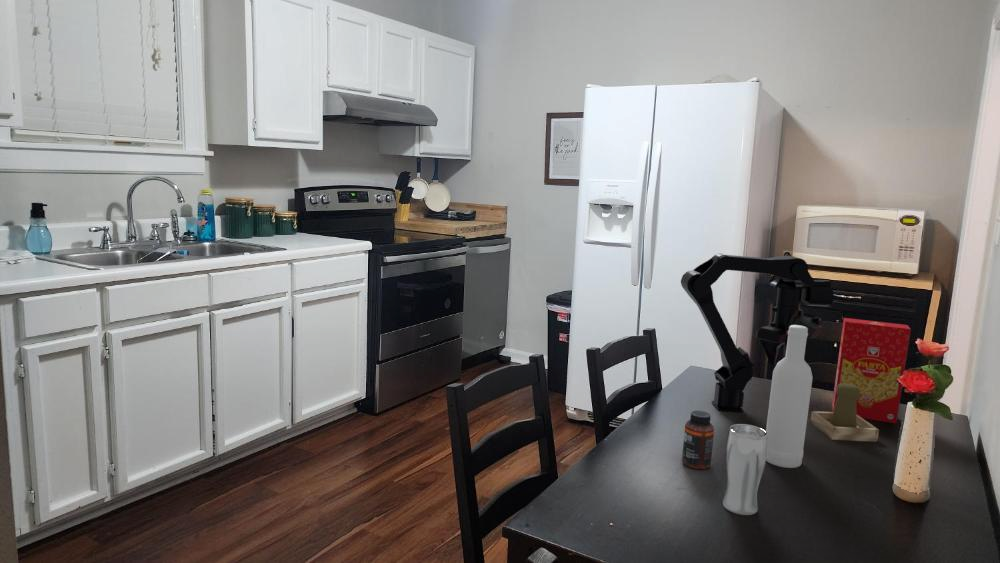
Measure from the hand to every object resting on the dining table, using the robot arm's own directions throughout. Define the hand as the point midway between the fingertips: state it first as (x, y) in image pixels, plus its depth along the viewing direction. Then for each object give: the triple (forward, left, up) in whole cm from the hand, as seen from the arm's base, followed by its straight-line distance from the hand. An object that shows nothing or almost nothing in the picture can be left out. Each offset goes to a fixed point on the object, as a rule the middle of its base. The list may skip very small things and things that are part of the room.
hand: (781, 362), depth 177 cm
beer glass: (-29, -55, -13) cm, 64 cm away
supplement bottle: (-32, -37, -13) cm, 51 cm away
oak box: (+11, -14, -13) cm, 22 cm away
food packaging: (+23, -1, -13) cm, 27 cm away
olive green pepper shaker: (+11, -14, -12) cm, 21 cm away
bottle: (-12, -33, -13) cm, 38 cm away
